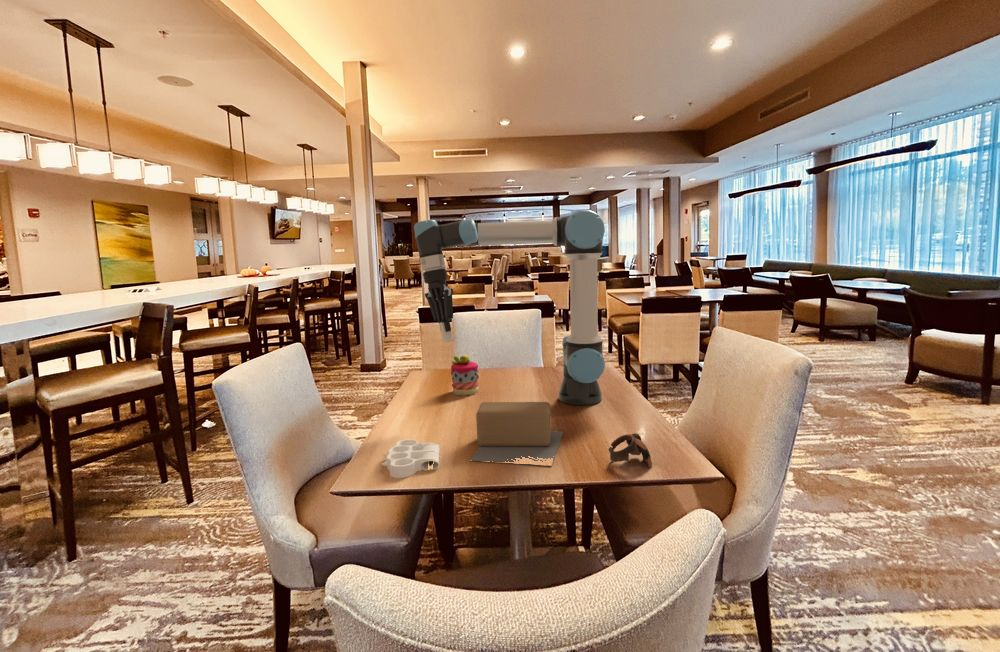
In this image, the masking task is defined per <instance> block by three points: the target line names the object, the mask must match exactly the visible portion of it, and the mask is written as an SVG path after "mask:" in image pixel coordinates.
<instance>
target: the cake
mask: <svg viewBox="0 0 1000 652" xmlns="http://www.w3.org/2000/svg"><path fill="white" fill-rule="evenodd" d="M453 360H454V361H451V365H450V370H451V372H450V374H451V379H452V380H451V382H452V384H451V387H452V394H453V395H455V396H459V395H463V396H462V397H465V396H466V395H469V396H473V395H472V394H474V395H477V394H479V386H480V380H479V378H480V377H479V365H478V363H477V362H475V361H470V357H469V355H466V354H464V355H461V356H460V357H459V356H457V355H454V356H453ZM476 393H477V394H476Z"/></svg>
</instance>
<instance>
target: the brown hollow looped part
mask: <svg viewBox="0 0 1000 652" xmlns="http://www.w3.org/2000/svg"><path fill="white" fill-rule="evenodd" d="M624 442H626V444H627V446H626V447H624V448H623V449H621V450H617V451H614V450H616V448H617V447H618V446H619V445H621V444H622V443H624ZM610 445H611V446H610V447H609V448H608V452H609V457H610V458H609V459H610V461H612V462H613V461H614V462H615V463H617V462H619V463H620V462H623V461H624V462H627V463H630V460H629V458H630V457H629V456H630V455H631V456H640V455H641V456H642V460H643V461H646V464H647V466H648V469H651V468H652V466H653V462H652V461H653V460H652V457H651V453H650V451H649V449H648V448H647V445H646V444H645V443H644V441H642V438H641V435H640V434H639V433H635V432H634V433H630V434H629V433H628V434H623V435H621V436H618V437H617V438H616V439H614V440H613V441H612V442H611V443H610Z"/></svg>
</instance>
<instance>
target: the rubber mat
mask: <svg viewBox="0 0 1000 652" xmlns="http://www.w3.org/2000/svg"><path fill="white" fill-rule="evenodd" d="M562 434H564V431H562V430H551V438H550V445H549V446H480V445H479V447H478V448H477V450H476V452H474V454H473V456H471V458H470V460H472V461H471V462H473V461H490V462H492V461H493V462H505V461H506V462H508V461H509V462H514V461H513V460H515V461H516V459H515V458H520V459H522V457H525V458H529V457H528V456H530V457H533V458H535V459H537V457H538V458H543V459H545V458H546V459H548V458H550V459H551V458H554V457H556V455H557V452H558V449H559V447H560V443H561V441H562V438H561V437H563V435H562ZM557 448H558V449H557ZM556 451H557V452H556ZM555 454H556V455H555ZM521 456H522V457H521ZM553 456H554V457H553ZM507 459H508V460H507ZM511 459H513V460H511ZM529 459H532V458H529ZM535 459H532V460H534V461H538V460H539V459H538V460H535ZM554 459H555V458H554ZM518 461H519V460H518ZM540 461H542V460H540ZM545 461H546V460H545ZM542 462H543V461H542Z"/></svg>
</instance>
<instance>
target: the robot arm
mask: <svg viewBox="0 0 1000 652" xmlns="http://www.w3.org/2000/svg"><path fill="white" fill-rule="evenodd" d="M413 225H414V226H413V231H414V236H415V237H414V239H415V242H416V243H415V244H416V247H417V251H418V256H419V259H420V260H419V261H420V265H421V271H424V272H422V277H423V282H424V284H426V285H427V284H428V285H427V289H428V291H427V292H426V293H424V296H425V299H426V300H427V302H428V307H429V309H430V312H431V315H432V317H433V320H434V322H437V323H439V328H440V332H441V336H442V337H441V338H442V342H443V343H449V342H450V343H451V342H453V340H454V339H453V334H452V327H451V322H450V321H451V320H453V319H454V308H453V306H454V305H453V303H454V302H453V293H454V289H453V288H449V287H448V285H447V282H446V281H447V280H448V278H449V277H448V272H447V269H446V268H445V267H446V262H445V257H444V252H443V249H449V248H454V247H468V246H469V247H470V246H501V245H503V246H504V245H531V244H532V245H535V244H536V245H537V244H552V245H554V246H555V247H564V256H565V257H566V258H567V259H568V260H569V291H570V292H569V293H570V295H569V297H570V298H569V299H570V300H569V301H570V302H569V303H570V310H569V311H570V335H566V336H564V337H563V339H562V345H561V346H562V362H563V363H562V366H563V367H562V368H563V369H562V370H563V371H562V372H563V378H562V381H561V385H560V388H559V391H558V400H559V401H560V402H561V403H564V404H568V405H574V406H575V405H576V406H588V405H589V406H590V405H595V404H598V403H600V402H601V401H602V400H603V394H602V390H601V388H600V383H599V381H598V380H599V379H600V378H601V377H602V375H603V373H604V371H605V367H606V362H605V358H604V356H603V351H604V350H603V349H604V348H603V346H604V345H603V338H602V337H601V336H600V335H599V332H598V331H599V329H598V326H599V325H598V324H599V323H598V321H599V320H598V310H599V309H598V302H599V301H598V298H599V297H598V295H599V294H598V292H599V291H598V290H599V289H598V287H599V286H598V282H599V281H598V259H599V258H600V257H601V256H602V255H603V239H604V236H605V233H606V232H605V230H606V227H605V223H604V220H603V219H602V217H601V215H600V214H598V213H596V211H592V210H590V209H581V210H576V211H574V212H573V213H572V214H570V215H566V216H556V217H554V218H553V219H552V220H531V221H529V220H528V221H524V220H523V221H503V222H502V221H501V222H500V221H499V222H475V220H474V219H471V218H470V219H462V220H459V221H454V222H449V223H445V224H439V223H438V222H437V220H435V219H427V220H422V221H421V220H420V221H417V222H416V223H414V224H413Z"/></svg>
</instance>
